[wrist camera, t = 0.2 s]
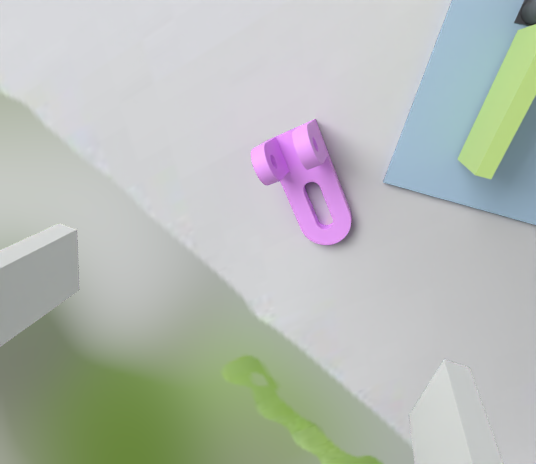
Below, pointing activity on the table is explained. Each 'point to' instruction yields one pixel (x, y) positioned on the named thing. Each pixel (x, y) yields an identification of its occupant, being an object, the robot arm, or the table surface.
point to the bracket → (305, 179)
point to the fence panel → (503, 107)
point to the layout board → (467, 116)
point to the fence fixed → (529, 12)
